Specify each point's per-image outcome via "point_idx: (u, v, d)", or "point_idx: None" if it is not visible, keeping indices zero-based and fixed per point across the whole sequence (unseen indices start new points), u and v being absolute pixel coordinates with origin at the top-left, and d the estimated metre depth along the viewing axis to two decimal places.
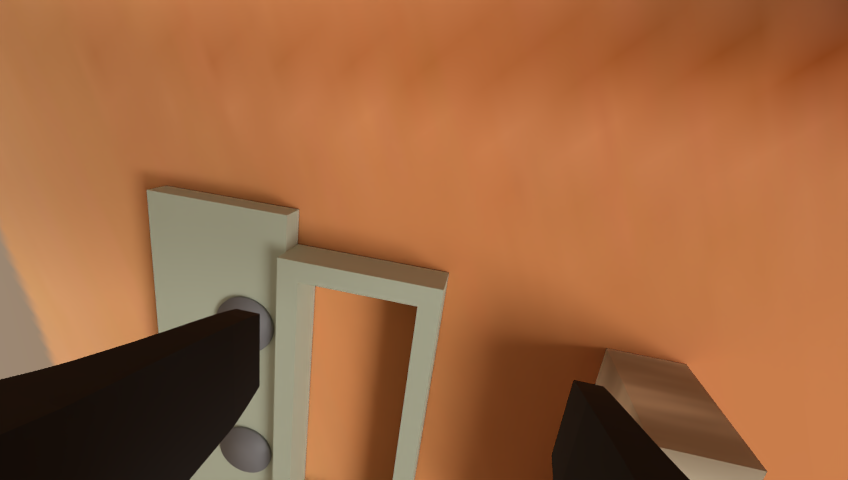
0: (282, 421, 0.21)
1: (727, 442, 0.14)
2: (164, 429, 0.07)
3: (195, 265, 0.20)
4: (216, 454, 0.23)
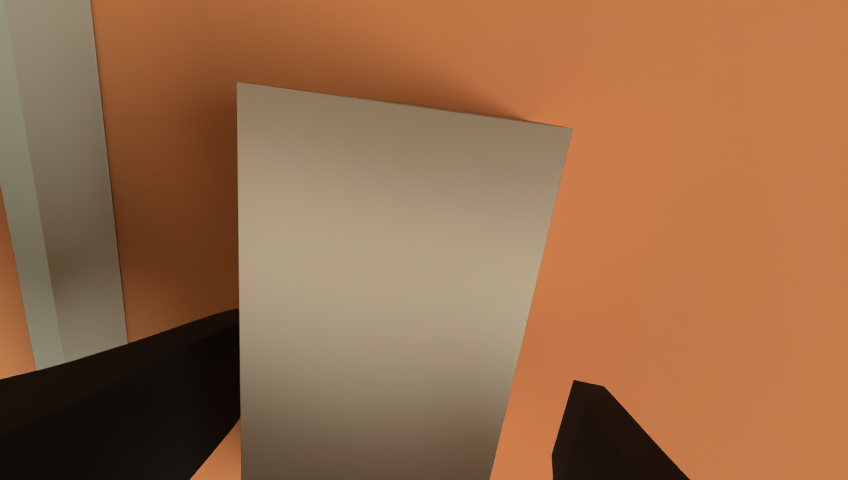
0: None
1: None
2: (164, 429, 0.07)
3: None
4: None
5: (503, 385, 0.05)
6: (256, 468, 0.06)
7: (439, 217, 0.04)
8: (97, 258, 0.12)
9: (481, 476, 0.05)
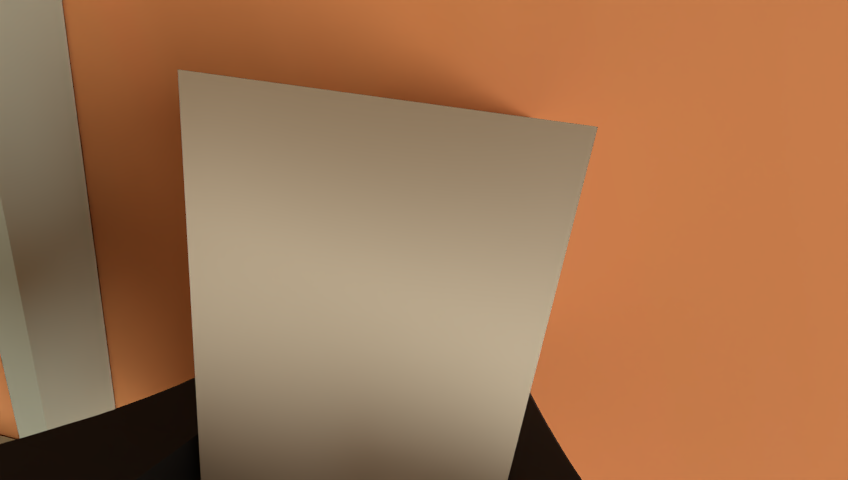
0: None
1: None
2: None
3: None
4: None
5: (509, 436, 0.04)
6: None
7: (429, 236, 0.04)
8: (72, 265, 0.11)
9: None
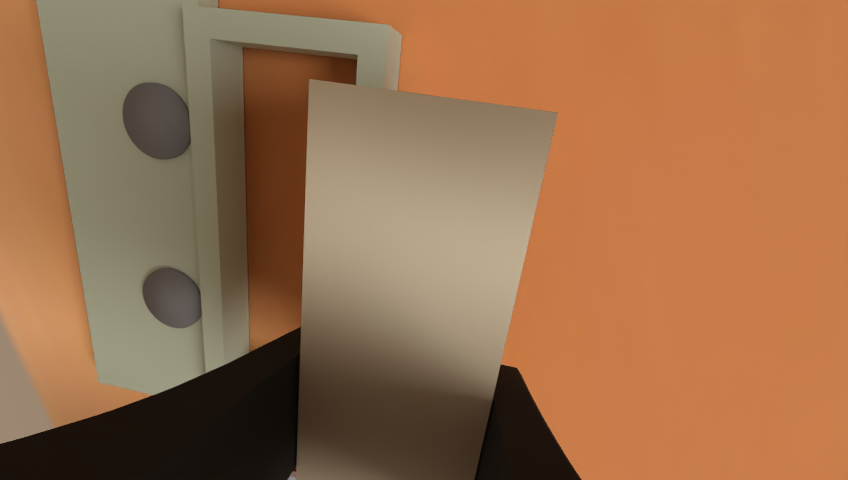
0: (207, 245, 0.17)
1: None
2: (259, 453, 0.07)
3: (93, 45, 0.16)
4: (141, 309, 0.20)
5: (506, 310, 0.06)
6: (311, 384, 0.08)
7: (459, 179, 0.06)
8: None
9: (489, 384, 0.07)
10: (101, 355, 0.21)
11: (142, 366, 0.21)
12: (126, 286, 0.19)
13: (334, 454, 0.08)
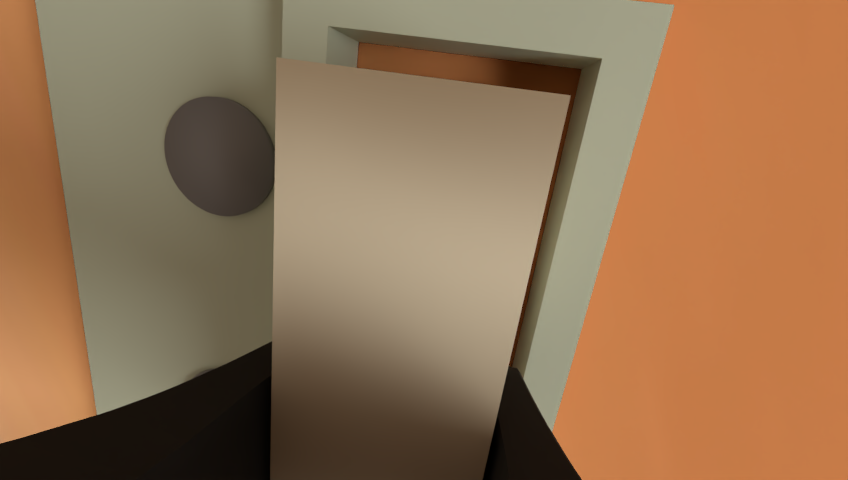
0: None
1: None
2: (259, 453, 0.07)
3: (121, 35, 0.10)
4: None
5: (510, 328, 0.05)
6: (284, 413, 0.07)
7: (454, 176, 0.05)
8: None
9: (489, 414, 0.06)
10: None
11: None
12: (157, 389, 0.13)
13: None
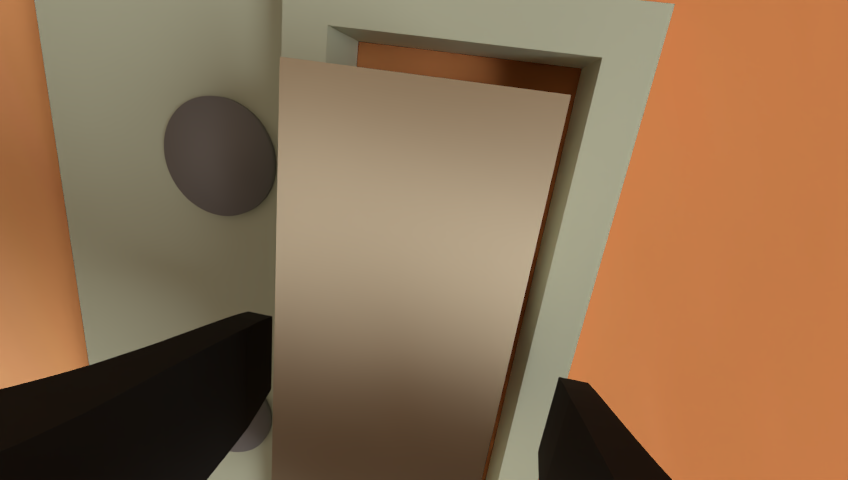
0: None
1: None
2: (180, 433, 0.07)
3: (120, 34, 0.10)
4: None
5: (509, 326, 0.06)
6: (286, 410, 0.07)
7: (456, 174, 0.05)
8: None
9: (489, 411, 0.06)
10: None
11: None
12: None
13: None
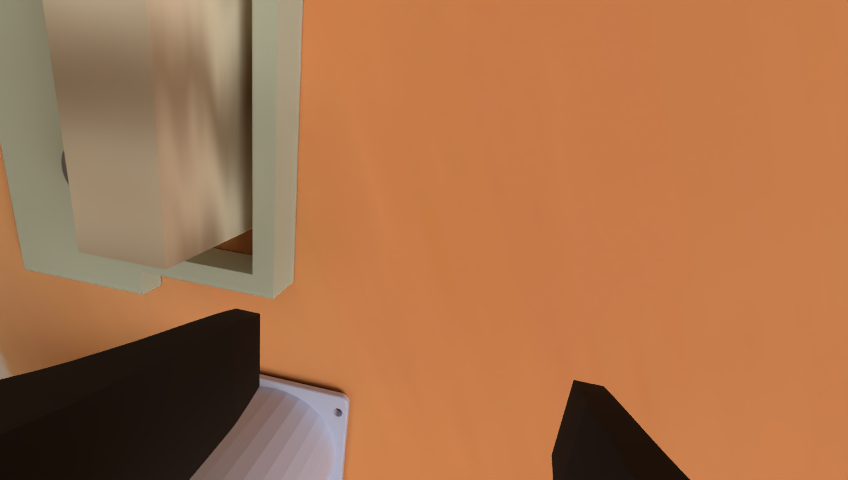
0: None
1: None
2: (164, 429, 0.07)
3: None
4: (61, 186, 0.20)
5: None
6: (56, 52, 0.13)
7: None
8: (292, 94, 0.17)
9: (144, 33, 0.12)
10: (26, 239, 0.21)
11: (66, 249, 0.21)
12: (46, 161, 0.19)
13: (78, 106, 0.13)
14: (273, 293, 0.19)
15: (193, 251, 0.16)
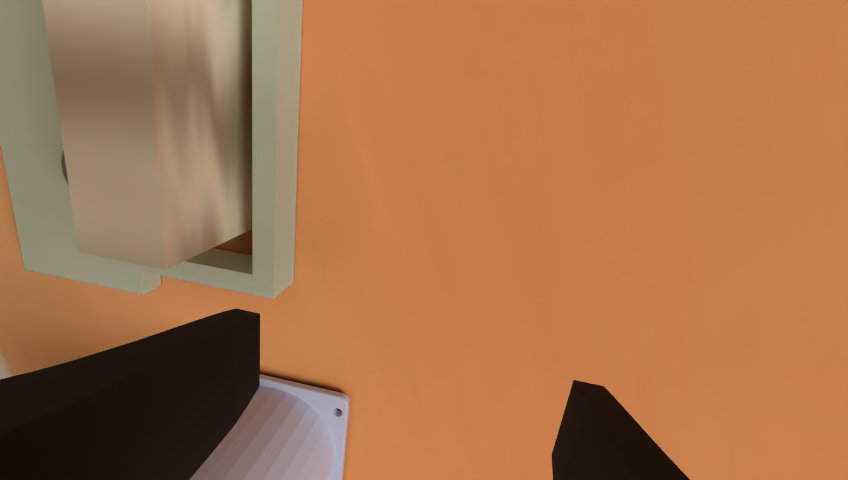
0: None
1: None
2: (164, 429, 0.07)
3: None
4: (61, 186, 0.20)
5: None
6: (56, 52, 0.13)
7: None
8: (292, 94, 0.17)
9: (144, 33, 0.12)
10: (26, 239, 0.21)
11: (66, 249, 0.21)
12: (46, 161, 0.19)
13: (77, 106, 0.13)
14: (273, 293, 0.19)
15: (193, 251, 0.16)
